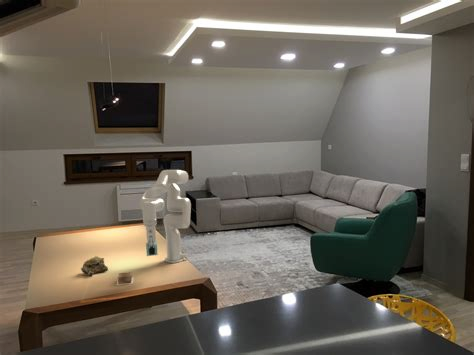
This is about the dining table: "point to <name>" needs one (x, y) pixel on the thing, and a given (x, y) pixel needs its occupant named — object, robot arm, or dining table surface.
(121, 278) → the walnut block
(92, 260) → the mineral specimen
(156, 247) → the teal block
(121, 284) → the grey square mat
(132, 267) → the dining table surface
